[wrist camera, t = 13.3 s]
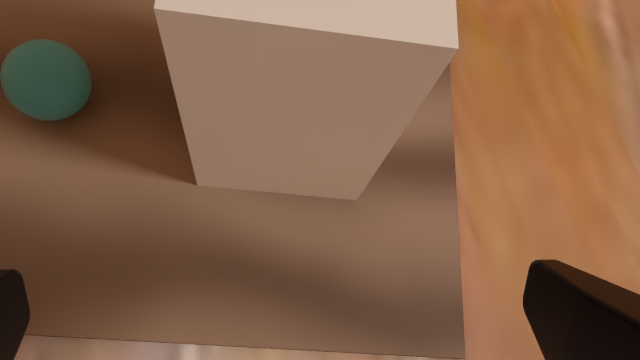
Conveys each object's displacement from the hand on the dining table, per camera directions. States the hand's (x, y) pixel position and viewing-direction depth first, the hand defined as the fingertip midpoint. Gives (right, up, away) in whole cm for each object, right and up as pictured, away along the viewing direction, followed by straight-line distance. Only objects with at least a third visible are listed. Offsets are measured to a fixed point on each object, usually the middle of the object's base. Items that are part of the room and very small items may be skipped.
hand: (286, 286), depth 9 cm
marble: (-10, +6, +10) cm, 15 cm away
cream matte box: (-1, +4, +12) cm, 13 cm away
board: (-5, +4, +12) cm, 14 cm away
